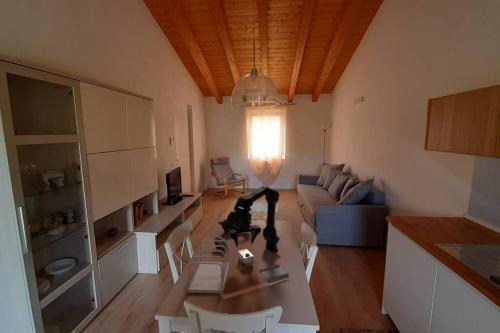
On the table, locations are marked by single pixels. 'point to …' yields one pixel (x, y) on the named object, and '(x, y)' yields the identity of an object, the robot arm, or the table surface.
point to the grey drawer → (245, 258)
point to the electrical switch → (220, 243)
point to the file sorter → (208, 272)
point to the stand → (242, 266)
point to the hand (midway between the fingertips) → (244, 245)
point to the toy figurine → (227, 226)
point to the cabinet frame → (274, 273)
